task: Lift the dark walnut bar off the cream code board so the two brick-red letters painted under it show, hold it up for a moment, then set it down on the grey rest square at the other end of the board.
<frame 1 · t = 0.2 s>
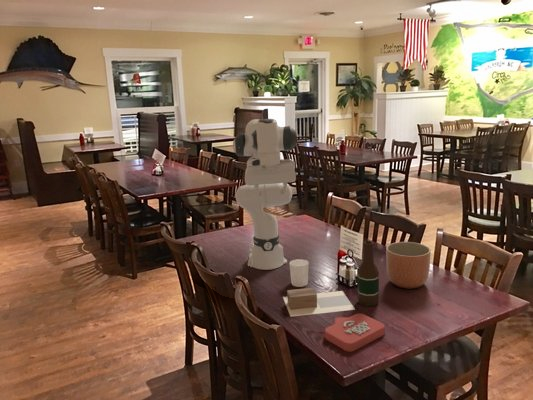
hand: (271, 195, 181), 39 cm above the table, tool pointing down, fingers open, 8 cm apart
planter: (407, 284, 185), on the table
plaque: (351, 335, 151), on the table
white cup: (299, 285, 189), on the table
walnut bar: (302, 304, 170), point 1 cm above the table, touching code board
code board: (317, 304, 171), on the table
beer bottle: (368, 302, 171), on the table
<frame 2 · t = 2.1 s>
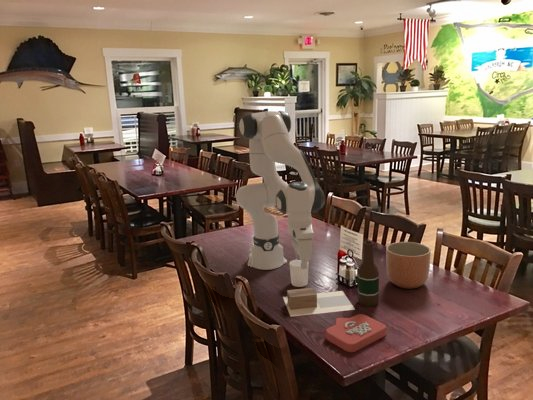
hand: (301, 263, 166), 17 cm above the table, tool pointing down, fingers open, 8 cm apart
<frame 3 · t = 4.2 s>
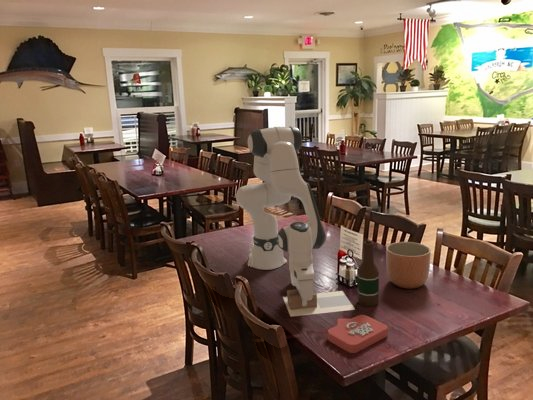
hand: (302, 300, 170), 2 cm above the table, tool pointing down, fingers closed on walnut bar, 6 cm apart
walnut bar: (302, 304, 170), point 1 cm above the table, touching code board, gripper
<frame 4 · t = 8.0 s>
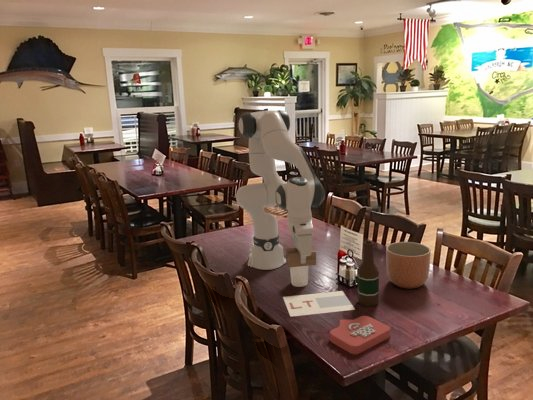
hand: (300, 259, 166), 19 cm above the table, tool pointing down, fingers closed on walnut bar, 6 cm apart
walnut bar: (300, 263, 166), point 17 cm above the table, touching gripper
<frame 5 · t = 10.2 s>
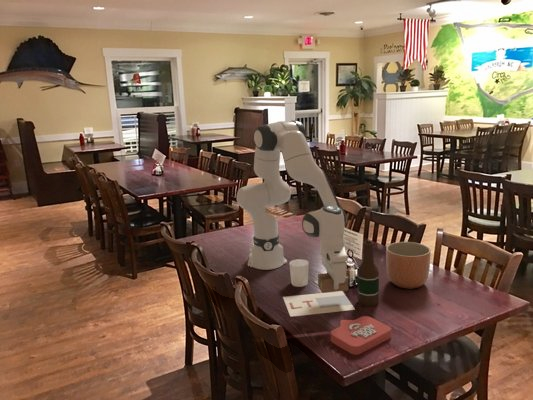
hand: (333, 284, 170), 8 cm above the table, tool pointing down, fingers closed on walnut bar, 6 cm apart
walnut bar: (333, 288, 170), point 6 cm above the table, touching gripper
when the fingers open (4 cm above the table, at t = 11.9 s): walnut bar drops 1 cm, resting on code board.
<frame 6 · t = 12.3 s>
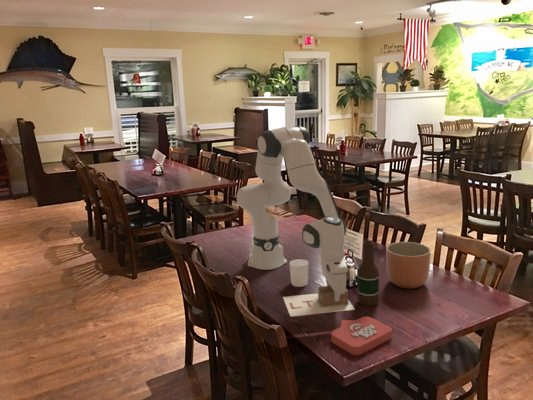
hand: (333, 294, 171), 4 cm above the table, tool pointing down, fingers open, 8 cm apart
walnut bar: (333, 301, 172), point 1 cm above the table, touching code board
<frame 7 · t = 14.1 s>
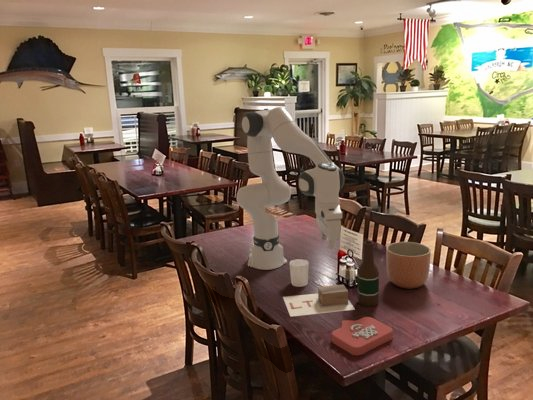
hand: (327, 243, 168), 23 cm above the table, tool pointing down, fingers open, 8 cm apart
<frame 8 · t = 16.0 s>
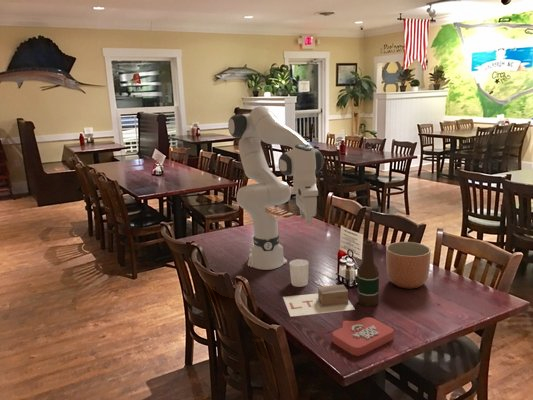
hand: (305, 221, 176), 29 cm above the table, tool pointing down, fingers open, 8 cm apart
at the end: walnut bar 0.0 cm from the target spot on the code board, point 0.8 cm above the code board's base; walnut bar tilted 0°; the gripper is holding nothing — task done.
